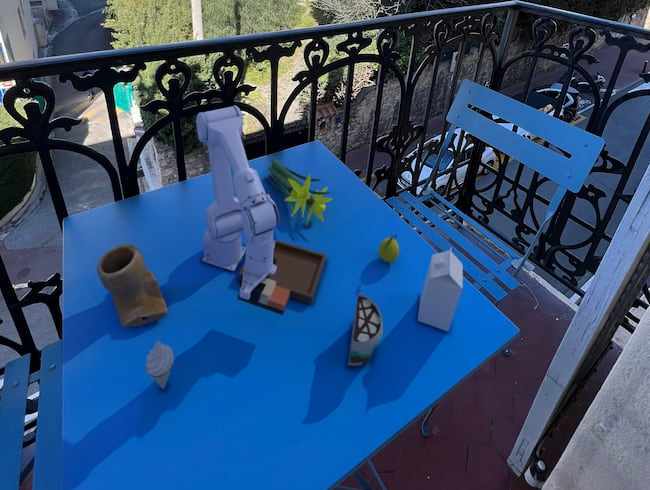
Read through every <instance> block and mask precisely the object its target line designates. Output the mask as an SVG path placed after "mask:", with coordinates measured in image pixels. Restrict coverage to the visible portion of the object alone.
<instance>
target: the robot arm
mask: <svg viewBox="0 0 650 490" xmlns="http://www.w3.org/2000/svg"><path fill="white" fill-rule="evenodd" d="M195 123H196V131H197V138H198V140H199V143H206V146H207V151H208V158H209V159H208V160H209V165H210V173H211V181H212V188H213V195H214V200H213V201H212V202H211V203H210V204H209V205H208V206H207V207H206V208H205V221H204V223H205V229H206V230H205V232H204V236H203V240H202V244H203V245H202V247H203V258H202V262H204V263H207V264H210V265H212V266H215V267H218V268H222V269H225V270H228V271H231V272H235V271H236V269H237V268H238V266H239V264H240V262H241V261H242V259H243V257H245V258H244V259H245V261H244V263H245V264H243V265H244V273H243V275H242V277H241V279H240V281H239V280H238V286H239V293H240V297H241V298H244V299H247V300H249V301H250V302H253V303H255V304H257V303H258V301H259V299H260V295H261V293H262V292H263V290H264V288H265V286H266V284H264V283H261V281H262V280H263V279H264V278H268V279H269V276H270V274H271V275H274V274H275V272H276V270H277V266H276V262H277V260H276V258H275V257H273V249H274V248H275V241H273V239H274V230H275V229H274V228H276V227H278V226H279V225H280V213H279V210H278V208H277V207H278V206H277V204H276V202H275V201H274V200H273V199H272V198H271V195H270V194H269V193H266V191H265V188H264V186H263V183H262V181H261V178H260V175H259V174H258V171H257V170H256V169H253V168H251V166H250V164H249V160H248V158H247V154H246V150H245V147H244V144H243V141H242V138H241V136H242V134H243V128H244V117H243V114H242V111H241V109H240V107H239V106H237V105H232V106H228V107H223V108H219V109H214V110H208V111H204V112H202V111H201V112H198V113H197V116H196V120H195ZM231 171H232V172H233V177H232V172H231ZM234 192H235V195H236V196H234ZM242 234H243V235H244V237H245V246H242ZM244 255H245V256H244ZM240 287H241V289H240Z"/></svg>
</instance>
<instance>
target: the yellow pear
mask: <svg viewBox="0 0 650 490" xmlns="http://www.w3.org/2000/svg"><path fill="white" fill-rule="evenodd" d="M393 235H394V234H393V232H392V233H391V235H390V237H386V238H384V239H383V240H381V242H380V244H379V246H378V256H379V257H380V259H381V260H382V261H383V262H385V263H393V262H395V261H396V260H397V259H398V257H399V255H400V245H399V243H398V241H397V240H396V238H397V237H398V234H395V235H394V236H393Z"/></svg>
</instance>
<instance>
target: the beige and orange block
mask: <svg viewBox="0 0 650 490" xmlns="http://www.w3.org/2000/svg"><path fill="white" fill-rule="evenodd" d="M261 283H264V284H266V286H265V288H264V290H263V292H262V293H261V295H260V299H259V301H258V303H257V304H255V303H253V302H250V301H249V300H247V299H244V298H241V297H240V292H239V293H238V295H237V300H239V301H242V302H244V303H247V304H249V305H252V306H256V307H259V308H261V309H264V310H267V311H270V312H273V313H276V314H278V315H281V316H284V314H285V311H286V308H287V306H288V304H289V302H290V299H291V297H290V290H288V289H285V288H282V287H279V286H276V281H274V280H271V279H268V278H264V279H263V280H262V281H261ZM240 289H241V287H240V286H239V290H240Z"/></svg>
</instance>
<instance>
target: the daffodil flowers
mask: <svg viewBox="0 0 650 490" xmlns="http://www.w3.org/2000/svg"><path fill="white" fill-rule="evenodd" d="M270 162H272V163H271V165H270V166H268V168H267V170H268V171H269V174H268V175H269V176H270V177H271V178H272V179H273V180H274V181H275V182H276V184H275V183H274V182H272V180H270V179H269V178H268V177H267V176H264V178H265V179H266V180H267V181H268V182H269V183H271V184H272V186H274V187H276V188H277V189H278V190H280V191H281V192H282V193H283V194H284V198H283V199H284V202H289V204H290V207H291V210H292V211H291V212H292V213H291V218H292V217H293V218H296V213H297V211H298V210H299V209H300V207H301V213H302V214H301V218H304V214H305V210H306V206H307V207H308V212H307V217H306V223H305V227H307V226H308V222H309V220H310V219H311V216H312V214H313V213H314V215H315V216H316V217H317V218H318V219H319V220H320V221H322V223H325V219H324V216H323V213H324V212H325V211H326V205H325V204H327V203H329V202H331V201H332V200H333V198H332V197H328V196H324V195H328V194H331V193H332V192H331V191H327V190H328V188H329V186H326V187H324V188H322V189H321V190H320V191H319V189H317V190H311V189H310V187H311V185H312V184H311V183H314V182H320V181H322V179H321V178H313V177H312V176H311V172H309V174H308V175H307V176H304V175H302V174H300V173H298V172H296V171H294V170H292V169H290V168H288V167H286V166H284V165H283V164H281V163H280V162H279V161H278V160H276V159H275V158H272V159H270ZM298 178H299V179H301V180H303V181H304V183H303V182H302V181H300V180H299V179H298ZM323 196H324V197H323ZM294 202H296V203H294Z"/></svg>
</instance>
